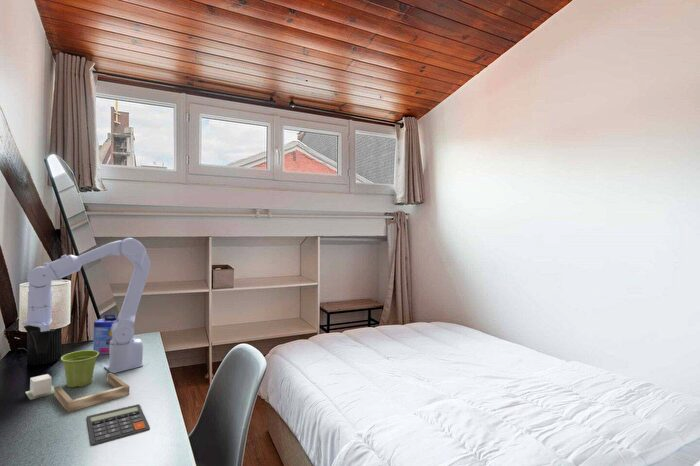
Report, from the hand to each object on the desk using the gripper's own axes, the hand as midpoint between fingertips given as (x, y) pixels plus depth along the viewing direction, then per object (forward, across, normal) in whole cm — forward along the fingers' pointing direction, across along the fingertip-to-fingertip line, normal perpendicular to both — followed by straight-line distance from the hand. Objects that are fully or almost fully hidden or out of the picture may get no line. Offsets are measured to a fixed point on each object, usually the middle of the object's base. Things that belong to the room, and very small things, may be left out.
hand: (38, 350), depth 114 cm
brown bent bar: (+9, +19, +5) cm, 22 cm away
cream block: (+9, +11, -2) cm, 14 cm away
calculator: (+10, +44, +7) cm, 46 cm away
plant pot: (+10, +11, +8) cm, 17 cm away
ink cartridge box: (+10, -14, +24) cm, 29 cm away
